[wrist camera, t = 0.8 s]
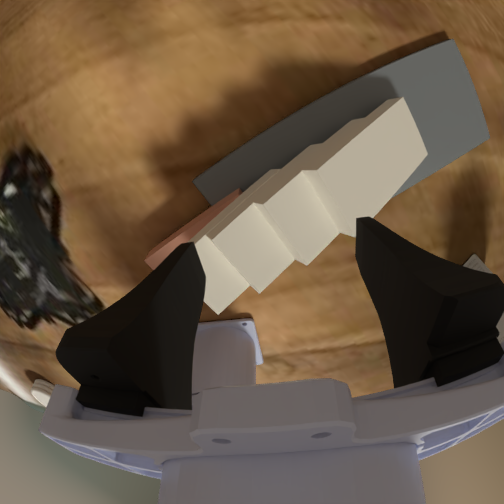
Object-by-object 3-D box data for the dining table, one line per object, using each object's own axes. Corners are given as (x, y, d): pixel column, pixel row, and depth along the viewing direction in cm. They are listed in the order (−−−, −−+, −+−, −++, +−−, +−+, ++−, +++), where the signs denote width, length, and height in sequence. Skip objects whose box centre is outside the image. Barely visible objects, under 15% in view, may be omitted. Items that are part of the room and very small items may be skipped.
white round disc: (57, 382, 42) (51, 395, 39) (80, 407, 47) (75, 419, 44) (28, 373, 43) (22, 385, 40) (50, 398, 48) (46, 409, 45)
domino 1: (304, 219, 23) (212, 306, 21) (270, 169, 21) (167, 261, 19) (315, 222, 21) (218, 315, 20) (280, 169, 19) (169, 267, 18)
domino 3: (379, 173, 21) (294, 259, 19) (351, 119, 18) (252, 202, 17) (394, 175, 19) (307, 265, 18) (366, 117, 17) (263, 204, 16)
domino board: (263, 265, 26) (263, 270, 25) (194, 178, 22) (192, 181, 21) (485, 136, 18) (490, 138, 18) (448, 39, 14) (453, 38, 13)
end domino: (274, 235, 24) (185, 287, 27) (239, 187, 22) (149, 250, 25) (275, 244, 22) (182, 299, 25) (238, 194, 20) (144, 260, 23)
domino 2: (341, 197, 22) (250, 285, 20) (310, 144, 20) (205, 235, 18) (355, 199, 20) (259, 293, 19) (323, 143, 18) (211, 240, 17)
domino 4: (412, 153, 19) (339, 232, 18) (387, 99, 17) (301, 170, 16) (427, 154, 18) (355, 237, 17) (403, 96, 16) (316, 170, 15)
